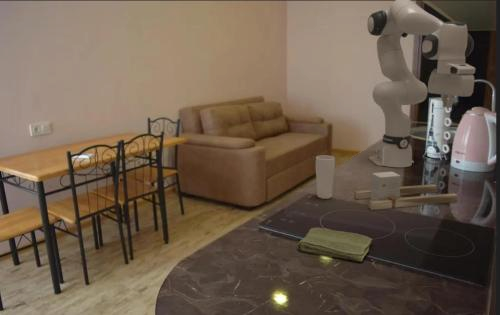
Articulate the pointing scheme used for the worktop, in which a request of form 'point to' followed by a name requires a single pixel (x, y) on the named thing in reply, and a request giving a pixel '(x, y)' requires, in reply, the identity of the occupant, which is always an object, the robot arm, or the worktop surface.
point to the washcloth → (335, 244)
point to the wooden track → (409, 200)
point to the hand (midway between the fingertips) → (447, 107)
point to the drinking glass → (325, 175)
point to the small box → (385, 185)
